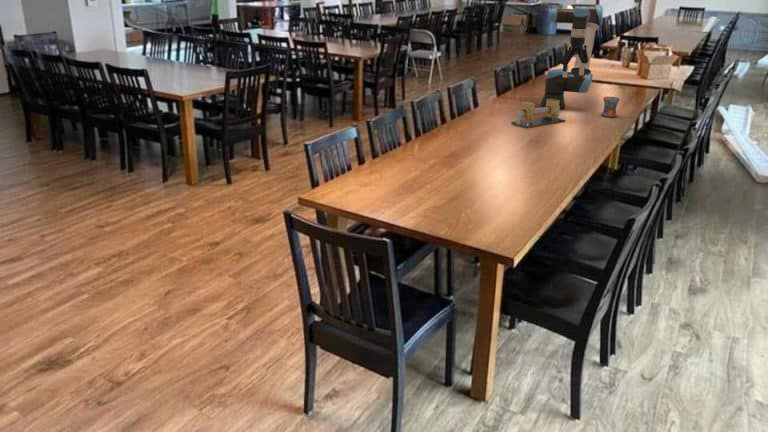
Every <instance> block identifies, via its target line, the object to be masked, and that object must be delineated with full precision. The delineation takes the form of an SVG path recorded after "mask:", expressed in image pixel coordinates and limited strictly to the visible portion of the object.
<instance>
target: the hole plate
mask: <svg viewBox="0 0 768 432" xmlns="http://www.w3.org/2000/svg"><path fill="white" fill-rule="evenodd" d="M533 118H534V117H533ZM566 121H567V120H566V119H563V118H557V119H555V118H552V116H550V115H548V116H542V117H536V118H534V120H532V124H531V123H530V120H526V119H523V123H522V124H520V125H519V124H516V120H514V121H511V123H510V124H511V125H514V126H517V127H521V128H524V129H531V128H538V127H543V126H549V125H556V124H560V123H561V124H562V123H566Z"/></svg>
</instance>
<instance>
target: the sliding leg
mask: <svg viewBox="0 0 768 432" xmlns="http://www.w3.org/2000/svg"><path fill="white" fill-rule="evenodd" d="M559 102H560V100H557V99H552V98H551V99H547V101H546V107H548V106H550V107H551V111H545V112H544V114H545V115H549V116H555V119H557V116H558V114H557V107H559Z"/></svg>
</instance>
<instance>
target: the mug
mask: <svg viewBox="0 0 768 432" xmlns="http://www.w3.org/2000/svg"><path fill="white" fill-rule="evenodd" d="M602 98H603V99H602V100H603V102H604V103H603V104H604V106H603V110H602V112H601V115H602V116H604V117H607V118H615V117H617V107H618V104H619V102H620V100H621V98H620V97H616V96H604V97H602Z"/></svg>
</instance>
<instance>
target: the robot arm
mask: <svg viewBox="0 0 768 432" xmlns="http://www.w3.org/2000/svg"><path fill="white" fill-rule="evenodd" d="M603 10H604V9H603V6H602V5H601V4H586V3H582V4H581V3H574V4H569V5H565V6H563V7H562V8H550V9H549V10H548V15H547V16H548V17H547V20H548V22H549V23H553V24H557V23H558V24H571V25H572V27H571V30H570V31H571V33H570V36H571V37H570V38H569V39H570V40H569V44H570V46H566V48H565V49H566V50H565V52H564V54H563V57H562V58H561V59H562V60H561V62H560V65H562V68H556V69H550V70H548V71H547V72H546V76H545V85H544V86H545V87H544V95H543V96H542V99H541V101H540V105H539V108H542V107H546V101H547V99H551V98H552V99H557V100H560V102H559V106H560V110H561V111H562V110H564V109H565V110H566V103H565V97H564V96H565V92H567V93H568V92H569V93H570V92H571V93H578V94H583V93H584V94H585V93H588V92H589V90H590V88H591V85H592V83H593V82H592V81H593V76H594V75H593V73H592V71H591V69H590V64H591V58H592V54H593V53H592V52H593V49H594V48H593V47H594V41H595V37H596V36H595V35H596V31H597V30H598V29H599V27H600V26H602V25H603V17H604V15H603ZM574 56H575V61H574V66H573V67H572V68H571V69H570V71H569V66H570V65H569V63H570V62H571V60H572V59H573V57H574ZM560 110H559V111H560Z"/></svg>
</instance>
